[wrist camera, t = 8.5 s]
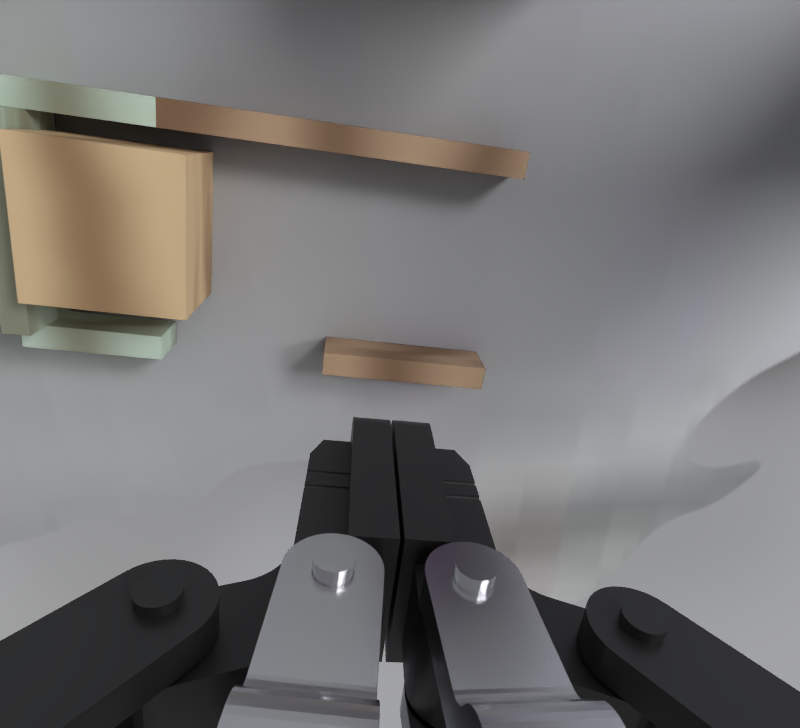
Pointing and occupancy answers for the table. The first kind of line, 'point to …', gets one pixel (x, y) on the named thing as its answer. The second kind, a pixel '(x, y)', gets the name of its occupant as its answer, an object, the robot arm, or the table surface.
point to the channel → (38, 101)
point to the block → (108, 222)
